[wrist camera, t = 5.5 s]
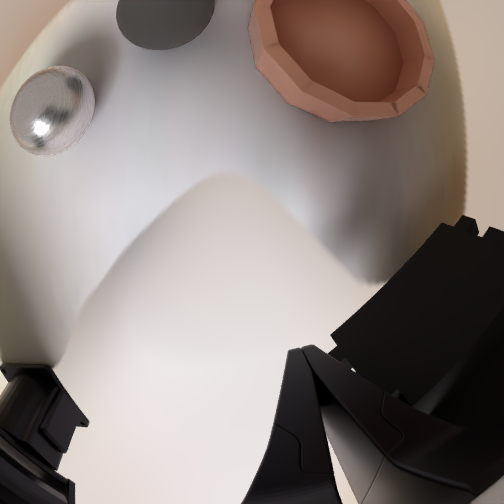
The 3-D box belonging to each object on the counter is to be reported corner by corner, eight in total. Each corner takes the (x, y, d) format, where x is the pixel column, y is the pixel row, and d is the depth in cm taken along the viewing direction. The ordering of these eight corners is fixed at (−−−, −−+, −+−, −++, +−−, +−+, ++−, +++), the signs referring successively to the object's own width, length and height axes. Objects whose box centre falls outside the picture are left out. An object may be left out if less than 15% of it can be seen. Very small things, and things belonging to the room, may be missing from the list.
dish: (267, 128, 12) (278, 122, 9) (237, -16, 9) (241, -43, 7) (416, 120, 12) (446, 118, 10) (382, -7, 9) (404, -24, 7)
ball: (135, 71, 10) (103, 43, 6) (129, 8, 9) (103, -31, 5) (221, 51, 10) (221, 12, 7) (209, -11, 9) (207, -57, 5)
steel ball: (47, 164, 11) (-2, 173, 7) (39, 94, 10) (-8, 84, 6) (113, 139, 11) (72, 135, 7) (104, 64, 10) (65, 38, 6)
